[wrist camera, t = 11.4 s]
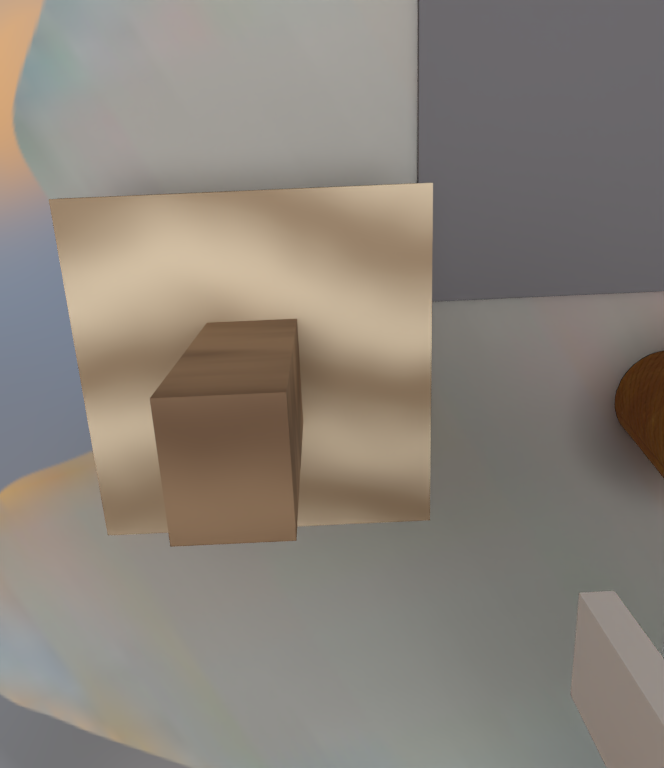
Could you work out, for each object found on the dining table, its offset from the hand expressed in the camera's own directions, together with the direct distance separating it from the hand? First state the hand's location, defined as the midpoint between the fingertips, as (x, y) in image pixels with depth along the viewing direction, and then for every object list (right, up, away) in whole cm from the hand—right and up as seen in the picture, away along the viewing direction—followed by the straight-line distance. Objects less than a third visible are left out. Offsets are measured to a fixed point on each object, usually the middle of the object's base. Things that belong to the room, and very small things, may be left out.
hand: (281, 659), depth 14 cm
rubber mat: (+15, +20, +22) cm, 33 cm away
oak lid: (-2, +7, +16) cm, 17 cm away
